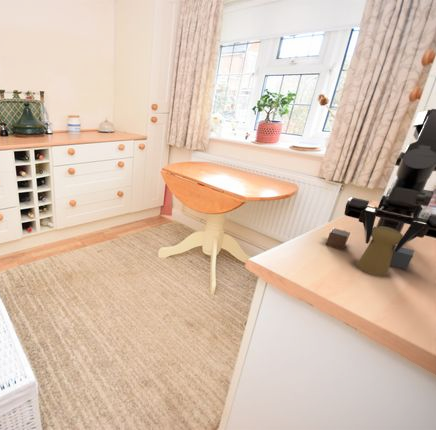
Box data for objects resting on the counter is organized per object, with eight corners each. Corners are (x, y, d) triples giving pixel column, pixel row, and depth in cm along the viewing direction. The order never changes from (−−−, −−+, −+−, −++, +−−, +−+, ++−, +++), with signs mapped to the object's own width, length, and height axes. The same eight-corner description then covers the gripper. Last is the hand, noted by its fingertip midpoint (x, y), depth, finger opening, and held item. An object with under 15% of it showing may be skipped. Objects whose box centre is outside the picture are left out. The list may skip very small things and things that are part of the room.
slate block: (386, 257, 77) (393, 244, 75) (407, 264, 74) (414, 250, 73) (385, 263, 74) (391, 249, 73) (406, 269, 72) (413, 255, 70)
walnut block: (329, 240, 85) (333, 227, 84) (345, 245, 83) (350, 232, 81) (325, 244, 83) (330, 231, 81) (342, 249, 80) (347, 236, 79)
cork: (375, 263, 74) (393, 224, 70) (394, 277, 69) (414, 235, 64) (350, 261, 75) (366, 222, 70) (366, 274, 69) (385, 233, 65)
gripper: (361, 166, 71) (335, 218, 68) (476, 183, 59) (450, 248, 56) (355, 190, 79) (333, 238, 77) (455, 210, 67) (432, 268, 64)
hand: (380, 247), depth 68 cm, fingers closed on cork, 5 cm apart
